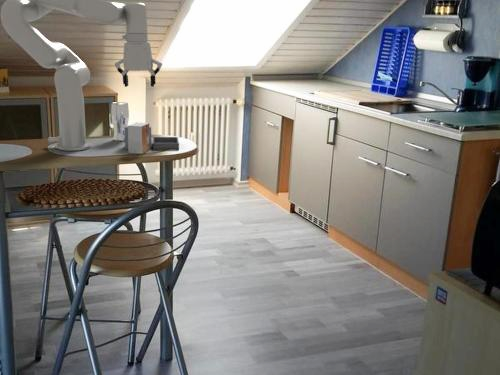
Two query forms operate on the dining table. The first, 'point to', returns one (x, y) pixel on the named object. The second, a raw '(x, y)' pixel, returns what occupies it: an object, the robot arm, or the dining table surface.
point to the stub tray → (165, 143)
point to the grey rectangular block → (127, 137)
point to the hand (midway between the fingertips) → (139, 86)
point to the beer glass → (119, 119)
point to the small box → (138, 138)
